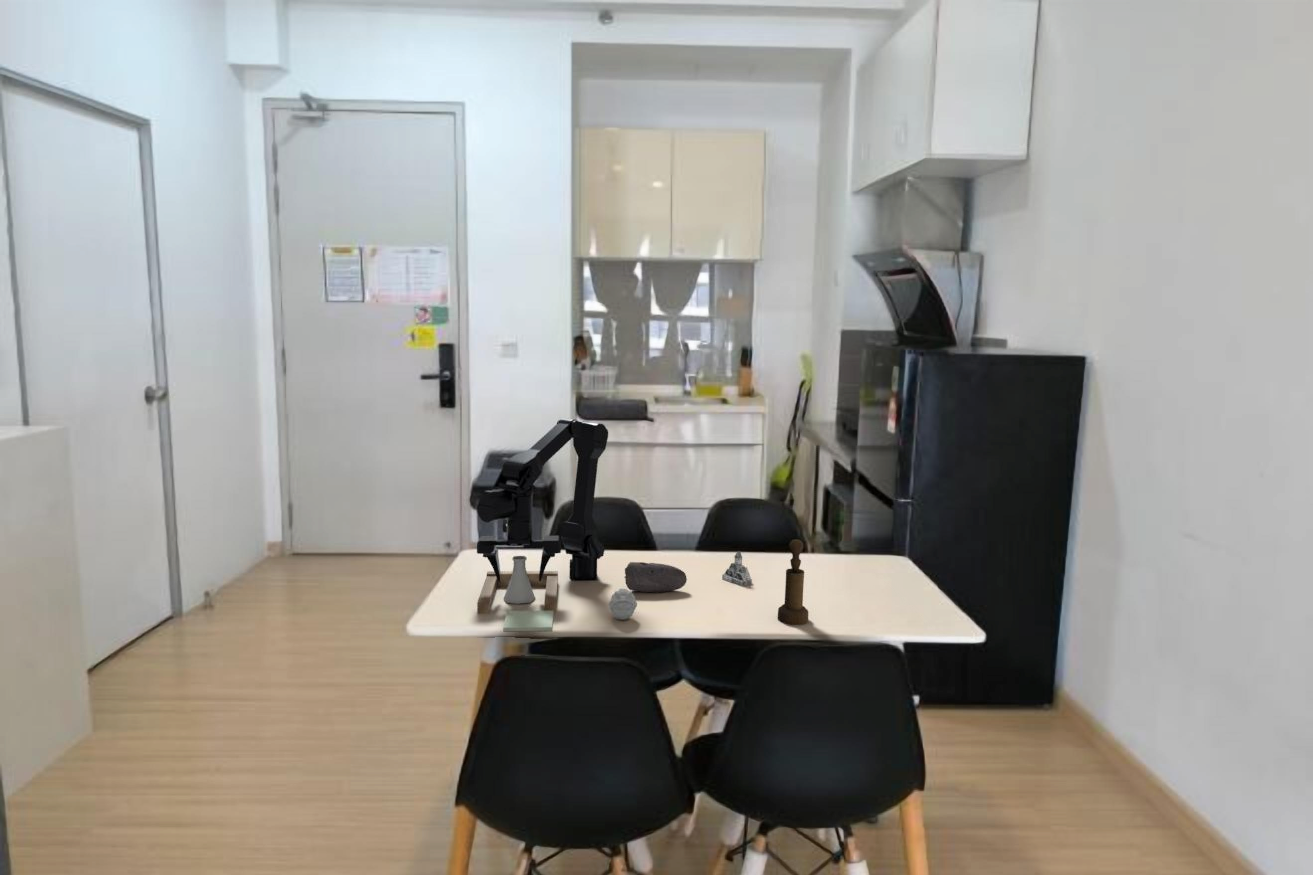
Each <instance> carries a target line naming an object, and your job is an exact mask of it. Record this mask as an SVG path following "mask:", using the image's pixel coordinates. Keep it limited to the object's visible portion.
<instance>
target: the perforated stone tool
mask: <svg viewBox="0 0 1313 875" xmlns="http://www.w3.org/2000/svg"><path fill="white" fill-rule="evenodd" d="M624 575H625V576H624V579H625V585H626V588H628V589H629V591H636V592H641V593H642V592H645V593H646V592H647V593H650V592H651V593H655V592H656V593H659V592H672V591H678V590H679V589H682V588H683V587H685V585H686V584H687V580H688V579H687V575H686V572H684V571H683V570H681V569H680V568H678V567H676V566H673V565H669V564H665V563H657V562H656V563H655V562H640V561H637V562H635V561H632V562H631V561H630V562H629V563H627V566H626V567H625V568H624Z"/></svg>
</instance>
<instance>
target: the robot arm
mask: <svg viewBox="0 0 1313 875" xmlns="http://www.w3.org/2000/svg"><path fill="white" fill-rule="evenodd" d="M608 439H609V430H608V428H606V425H605V424H603V423H600V422H590V421H579V420H577V419H574V418H567V417H564V418H560V419H558V421H557V422H556V424H555V425H554V426H553V427H552V428H551V429H550V430H548V432H546V433H545V435H542V437H541V438H540V439H539V440H538V441H536V442H535V443H534V444H533V445H532V446H531V447H530V448H529V449H528V450H525V451H523V452H519V453H516V454H515V455H512V456H511V457H510V458H508V459H506V460H505V462H504V463H503V465H502V468H501V471H500V473H499V474H498V476H497V478H496V480H495V482H494V484H493V486H492V490H489V489H488V490H484V491H483V496H482V497H480V499H479V500H478V501H477V502H478V503H477V505H476V510H477V511H476V512H477V514H478V517H479V519H480V520H482V521H483V522H484V523H486V524H487V523H493V522H496V521H500V520H502V533H503V534H506V539H500V540H499V539H498V538H497V535H481V536H480V537H479V538H478V541H476V542H477V543H476V554H479V555H481V554H482V557H483V558H486V559H488V561H489V563H490V565H491V567H492V568H493V571H494V572H495V574H496V577H497V579H498V582H500V580H501V573H500V571H501V566H500V557H499V549H501V550H502V549H503V550H504V549H510V550H511V549H513V550H514V549H542V552H541V560H540V567H539V571H540V572H539V581H541V579H542V576H543V573H544V571H546V567H547V565H548V563H549V561H550V559H551V558H555V557H556V554H560V553H562V551H561V550H562V545H563V547H564V550H565V554H566V555H571V559H569V579H570V580H571V581H572V582H577V581H578V582H582V581H583V582H585V581H586V582H589V581H590V582H591V581H595V582H596V581H598V560H599V559H601V558H602V557H603V556H604V555H605V549H606V547H605V546H604V545H603V544H602V543H601V542H600V540H599V539H598V527H597V525H596V523H595V521H594V518H593V511H594V501H595V492H596V482H597V474H598V463H599V459H600V457H601V456H602V454H603V453H604V452H605V450H606V447H607V442H608ZM570 440H572V444H573V448H574V452H576V455H577V463H576V464H577V465H576V473H575V484H574V495H573V503H572V511H571V512H572V513H571V515H570V517H569V518H568V520H567V521H566V520H565V521H563V522H562V524H561V525H562V531H561V535H544V536H543V539H534V525H533V494H538V493H540V489H539V488H538V487H536V485H535V483H536V481H537V480H538V479H539V477H540V476H541V475H542V474H543V473H542V472H543V469H544V468H543V467H544V466H545V465H546V463H547V462H549V460H550V459H552V458H553V457H554V456H555V455H556V454H557V453H558V452H559V451H560V450H561V449H562V448H563V447H564V446H565V445H566V444H568V442H570Z"/></svg>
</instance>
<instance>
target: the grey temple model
mask: <svg viewBox="0 0 1313 875" xmlns="http://www.w3.org/2000/svg"><path fill="white" fill-rule="evenodd" d="M721 577H722V578H721V579H722V580H724V581H726V582H730V583H731V584H736V585H738V586H740V587H741V586H742V587H743V586H747V585H750V584H752V583H753V579H752V578H751V574H750V571H749V569H748V567H747V566H745V565H743V555H742V553H741V551H737V552H736V553H735V555H734V562H731V563H730V565H729V566H728V568H726V571H725V572H724V573H722V575H721Z"/></svg>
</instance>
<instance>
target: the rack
mask: <svg viewBox="0 0 1313 875" xmlns="http://www.w3.org/2000/svg"><path fill="white" fill-rule="evenodd" d="M539 572H540V570H534V571H533V570H528V571H527V570H526V573H527V576H528V579H529V582H530V585H531V587H535V586H538V587H539V586H540V587H542V586H543V587H544V586H545V592H544V602H543V603H544V604H543V605H544V606H543V607H544V608H543V611H553V614H554V613H557V602H558V587H559V570H544V573H543V576H542V579H541V581H539ZM500 573H501V580H500V582H498V579H497V577H496V574H495V572H494V570H493V571H492V570H491V571H487V572H486V575H485V576H486V577H485V579H484V582H483V584H482V585H483V586H482V588H481V591H480V594H479V597H478V599H477V604H476V607H477V608H476V610H477V611H476V613H477V614H490V611H491V609H492V608H491V607H492V605H493V601H494V599H495V598H494V597H495V595H496V594H495V593H496V592H497V587H508V585H509V582H510V579H511V576H512V573H513V570H512V571H511V570H509V571H506V570H505V571H503V570H502V571H501V570H500Z"/></svg>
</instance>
